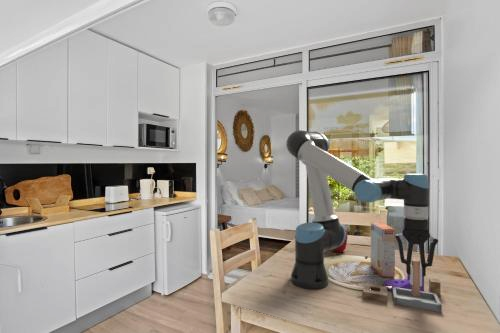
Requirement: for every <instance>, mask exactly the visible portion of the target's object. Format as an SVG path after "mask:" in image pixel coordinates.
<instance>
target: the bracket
mask: <svg viewBox="0 0 500 333" xmlns="http://www.w3.org/2000/svg"><path fill="white" fill-rule="evenodd" d="M406 274H407V273H406ZM406 277H407V278H406V279H390V280H389V279H388V280H386V281H385V282H383V286H384V285H385V286H392V288H391V289H390V290H389V291H391V292H392V290H393V287H398V288H404V289H410V290H412V285H411V284H410V274H407V275H406ZM420 291H423V292H425V276H422V286H420Z"/></svg>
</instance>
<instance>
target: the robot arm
mask: <svg viewBox="0 0 500 333" xmlns="http://www.w3.org/2000/svg"><path fill="white" fill-rule="evenodd" d="M286 149H287V151H288V153H289V154H290V155H291V156H292V157H294V158H295V159H297V160H299V161H300V162H301V163H302V164H304V166H305V170H306V174H307V175H306V176H307V180H308V186H309V191H310V197H311V203H312V210H313V214H314V217H313V219H312V220H311V222H304V223H300V224H299V225H297V227H296V228H295V234H294V239H295V243H294V245H295V246H294V247H295V248H294V249H295V250H294V252H295V254H294V255H295V256H294V258H295V261H294V265H293V267H292V271H291V274H290V281H291V283H292V284H294V285H295V286H296V287H298V288H302V289H309V290H319V289H323V288H326V287H327V286H328V285H329V276H328V273H327V269H326V266H325V253H326V252H330V251H333V250H332V249H336V248H338V247H339V246H341V245H342V244H343V243H344V241H345V239H346V232H347V230H346V228H345V226H344V225H342V223H341V222H340V220H339V217H338V215H336V214H335V213H334V207H333V202H332V201H333V200H332V196H331V190H330V185H329V179H328V177H330V179H331V178H332V179H333V180H334V181H336V182H337V183H339V184H340V185H343V186H344V187H345V188H346V189H348V190H350V191H352V192H353V193H354V195H355V197H356V199H357V200H359V201H360V202H362V203H374V202H378V201H381V200H386V199H390V200H403V216H404V217H403V229H402V232H401V233H395V240H396V241H397V246H398V251H399V258H400V262H401V263H402V264H404V265H405V267H406V268H405V271H406V274H410V284H411V285H413V266H412V257H413V248H414V245H417V246H418V250H419V261H420V267H419V286H422V276H424V277H426V276H427V275H426V274H427V273H426V271H427V267H428V268H429V267H432V266H433V262H434V261H433V260H434V256H435V250H436V245H438V243H439V239H438V238H437V237H435V236H433V235H431V233H430V231H429V219H428V218H429V198H430V196H429V190H430V186H429V177H428V175H427V174H424V173H404V175H403V178H387V177H386V178H385V177H378V178H377V177H375V178H374V177H373V178H372V177H370V176H368V175H367V174H365V173H364V172H362V171H360V170H359V169H357V168H355V167H353V166H352V165H349V163H346V162H344V161H343V160H342V159H339V158H338V157H336V156H334V155H333V154H331V153H329V149H330V143H329V140H328V138H327V137H326V135H325V134H323V133H321V132H319V131H308V130H296V131H293V132H292V133H290V134H289V135H288V137H287V139H286ZM345 230H346V231H345ZM403 237H404V238H405V240H406V241H407V242H408V243H407V251H406V258H405V254H404V248H403V242H402V241H403V239H404V238H403ZM427 241H428V242H429V246H428V252H427V260H426V256H425V245H424V244H425V243H426V242H427Z"/></svg>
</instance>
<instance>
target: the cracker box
mask: <svg viewBox="0 0 500 333" xmlns="http://www.w3.org/2000/svg"><path fill="white" fill-rule="evenodd" d="M395 235H396V229H395V228H393V227H392V226H389V225H388V224H386V223H383V222H371V223H370V266H371V268H373V270H374V271H376V273H378V275H379V276H381V277H386V278H387V277H388V278H395V277H396V276H395V272H396V237H395Z"/></svg>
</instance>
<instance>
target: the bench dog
mask: <svg viewBox="0 0 500 333" xmlns="http://www.w3.org/2000/svg"><path fill="white" fill-rule="evenodd" d="M428 292H429V293H436V294H437V296H438V297H441V281H440V280H439V278H437V277H436V278H435V277H428Z"/></svg>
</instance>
